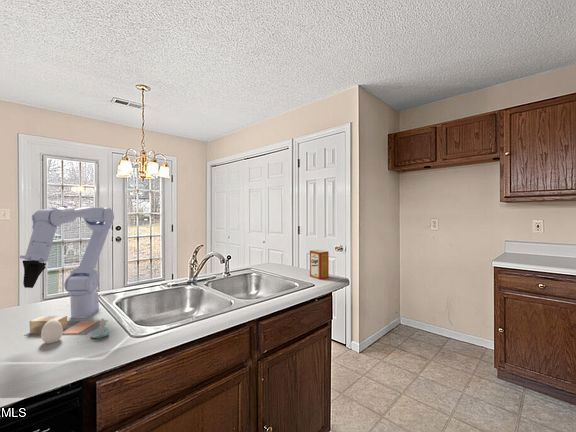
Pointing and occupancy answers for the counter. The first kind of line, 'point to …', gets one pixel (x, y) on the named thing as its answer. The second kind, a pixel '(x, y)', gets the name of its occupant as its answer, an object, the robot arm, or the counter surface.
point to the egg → (51, 331)
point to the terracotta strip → (79, 327)
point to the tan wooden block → (39, 322)
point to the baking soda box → (319, 264)
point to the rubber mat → (70, 324)
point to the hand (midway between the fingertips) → (28, 286)
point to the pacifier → (99, 331)
